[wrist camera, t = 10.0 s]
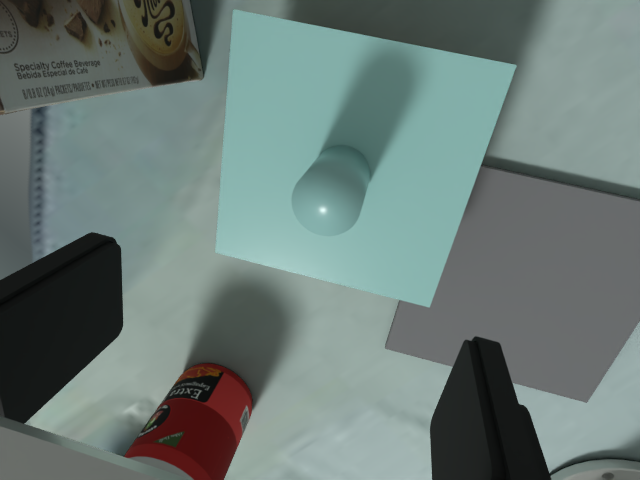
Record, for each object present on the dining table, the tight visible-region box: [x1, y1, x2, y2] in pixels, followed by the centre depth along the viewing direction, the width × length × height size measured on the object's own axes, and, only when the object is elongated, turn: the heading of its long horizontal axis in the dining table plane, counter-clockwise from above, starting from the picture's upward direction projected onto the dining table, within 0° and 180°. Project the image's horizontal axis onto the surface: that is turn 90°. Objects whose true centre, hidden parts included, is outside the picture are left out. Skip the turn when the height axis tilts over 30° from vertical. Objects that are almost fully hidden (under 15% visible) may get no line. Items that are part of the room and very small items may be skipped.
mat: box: [385, 165, 640, 403], centre depth 30 cm, size 16×16×1 cm
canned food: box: [124, 363, 252, 480], centre depth 36 cm, size 8×8×11 cm
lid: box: [215, 9, 517, 308], centre depth 21 cm, size 14×14×6 cm
